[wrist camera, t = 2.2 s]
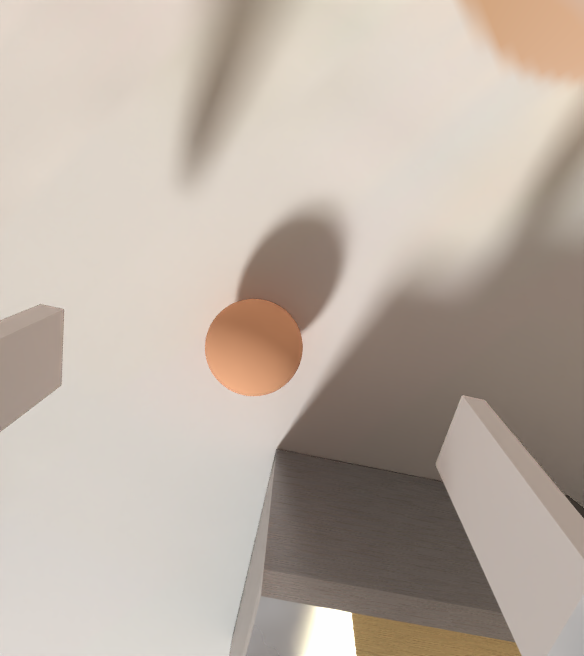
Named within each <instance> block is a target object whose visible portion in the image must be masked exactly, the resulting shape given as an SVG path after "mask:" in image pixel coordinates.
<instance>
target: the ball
mask: <svg viewBox="0 0 584 656" xmlns="http://www.w3.org/2000/svg"><path fill="white" fill-rule="evenodd" d="M302 351H303V344H302V337H301V333H300V330H299V328H298V326H297V324H296V322H295V320H294V319H293V318H292V317H291V315H290V314H289V313H288V312H287V311H286V310H284V309H283V308H282V307H280V306H279V305H277V304H275V303H273V302H270V301H267V300H262V299H246V300H242V301H238V302H236V303H233V304H231V305H229V306H228V307H226V308H225V309H224V310H222V311H221V312H220V313H219V314H218V315H217V316H216V318H215V319H214V320H213V322H212V324H211V325H210V328H209V330H208V333H207V336H206V342H205V354H206V359H207V362H208V365H209V368H210V370H211V372H212V373H213V375H214V376H215V378H216V379H217V380H218V381H219V382H220V383H221V384H222V385H223V386H225V387H226V388H228V389H229V390H231V391H233V392H235V393H238V394H241V395H246V396H261V395H266V394H269V393H272V392H274V391H276V390H278V389H280V388H281V387H283V386H284V385H285V384H286V383H287V382H289V380H290V379H291V378H292V377H293V376H294V374H295V372H296V371H297V369H298V367H299V364H300V361H301V357H302Z"/></svg>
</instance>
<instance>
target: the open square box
mask: <svg viewBox="0 0 584 656" xmlns="http://www.w3.org/2000/svg"><path fill="white" fill-rule="evenodd" d="M229 656H521V653H520V651H519V649H518V647H517V644H516V642H515V640H514V638H513V636H512V633H511V631H510V629H509V627H508V625H507V622H506V620H505V618H504V616H503V613H502V611H501V609H500V607H499V605H498V602H497V600H496V598H495V596H494V594H493V591H492V589H491V587H490V585H489V582H488V580H487V578H486V576H485V574H484V571H483V569H482V567H481V565H480V563H479V560H478V558H477V556H476V554H475V551H474V549H473V547H472V545H471V543H470V540H469V538H468V536H467V534H466V532H465V529H464V527H463V525H462V523H461V520H460V518H459V516H458V514H457V512H456V509H455V507H454V505H453V503H452V501H451V498H450V496H449V494H448V492H447V490H446V487H445V485H444V483H443V482H441V481H436V480H431V479H426V478H421V477H416V476H411V475H406V474H401V473H396V472H391V471H386V470H380V469H375V468H370V467H365V466H360V465H355V464H350V463H345V462H340V461H335V460H330V459H325V458H320V457H314V456H309V455H304V454H299V453H294V452H289V451H284V450H279V449H276V453H275V457H274V461H273V466H272V470H271V474H270V478H269V483H268V487H267V491H266V496H265V500H264V504H263V508H262V513H261V517H260V521H259V525H258V530H257V534H256V538H255V543H254V547H253V551H252V555H251V560H250V564H249V568H248V572H247V577H246V581H245V585H244V590H243V594H242V598H241V602H240V607H239V611H238V615H237V620H236V624H235V628H234V632H233V637H232V642H231V648H230V654H229Z"/></svg>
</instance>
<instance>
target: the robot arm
mask: <svg viewBox="0 0 584 656" xmlns="http://www.w3.org/2000/svg"><path fill="white" fill-rule="evenodd" d="M63 326H64V309H61V308H56V307H51V306H47V305H42V304H39V305H37V306H35V307H32V308H30V309H27V310H25V311H22V312H20V313H17V314H15V315H12V316H10V317H7V318H5V319H2V320H0V432H1V431H2V430H3V429H5V428H6V427H7V426H9V425H10V424H11V423H13V422H14V421H15V420H17V419H18V418H19V417H21V416H22V415H23V414H25V413H26V412H27V411H28V410H30V409H31V408H32V407H34V406H35V405H36V404H38V403H39V402H40V401H42V400H43V399H44V398H46V397H47V396H48V395H49V394H51V393H52V392H53V391H55V390H56V389H57V388H59V387H60V386H61V384H62V355H63ZM435 465H436V467H437V470H438V472H439V474H440V476H441V478H442V481H443V483H444V485H445V487H446V490H447V492H448V494H449V496H450V498H451V501H452V503H453V505H454V507H455V509H456V512H457V514H458V516H459V518H460V520H461V523H462V525H463V527H464V529H465V532H466V534H467V536H468V538H469V540H470V543H471V545H472V547H473V549H474V551H475V554H476V556H477V558H478V560H479V563H480V565H481V567H482V569H483V571H484V574H485V576H486V578H487V580H488V582H489V585H490V587H491V589H492V591H493V594H494V596H495V598H496V600H497V602H498V605H499V607H500V609H501V611H502V613H503V616H504V618H505V620H506V622H507V625H508V627H509V629H510V631H511V633H512V636H513V638H514V640H515V642H516V644H517V647H518V649H519V651H520V653H521V656H584V508H583V507H582V506H580V505H579V504H578V503H577V502H575V501H574V500H573V499H572V498H570V497H569V496H568V495H564V494H563V493H562V492H561V491H560V489H559V488H558V487H557V486H556V485H555V483H554V482H553V481H552V480H551V479H550V477H549V476H548V475H547V474H546V473H545V471H544V470H543V469H542V468H541V467H540V465H539V464H538V463H537V462H536V461H535V459H534V458H533V457H532V456H531V455H530V453H529V452H528V451H527V450H526V449H525V447H524V446H523V445H522V444H521V443H520V441H519V440H518V439H517V438H516V437H515V435H514V434H513V433H512V432H511V431H510V429H509V428H508V427H507V426H506V425H505V423H504V422H503V421H502V420H501V419H500V417H499V416H498V415H497V414H496V413H495V412H494V410H493V409H492V408H491V407H490V406H489V404H488V403H487V402H486V401H485V400H483V399H479V398H474V397H469V396H465V395H462V396H461V399H460V401H459V404H458V407H457V409H456V412H455V414H454V417H453V420H452V422H451V425H450V427H449V430H448V433H447V435H446V438H445V440H444V443H443V445H442V448H441V451H440V453H439V456H438V458H437V461H436V464H435Z"/></svg>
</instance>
